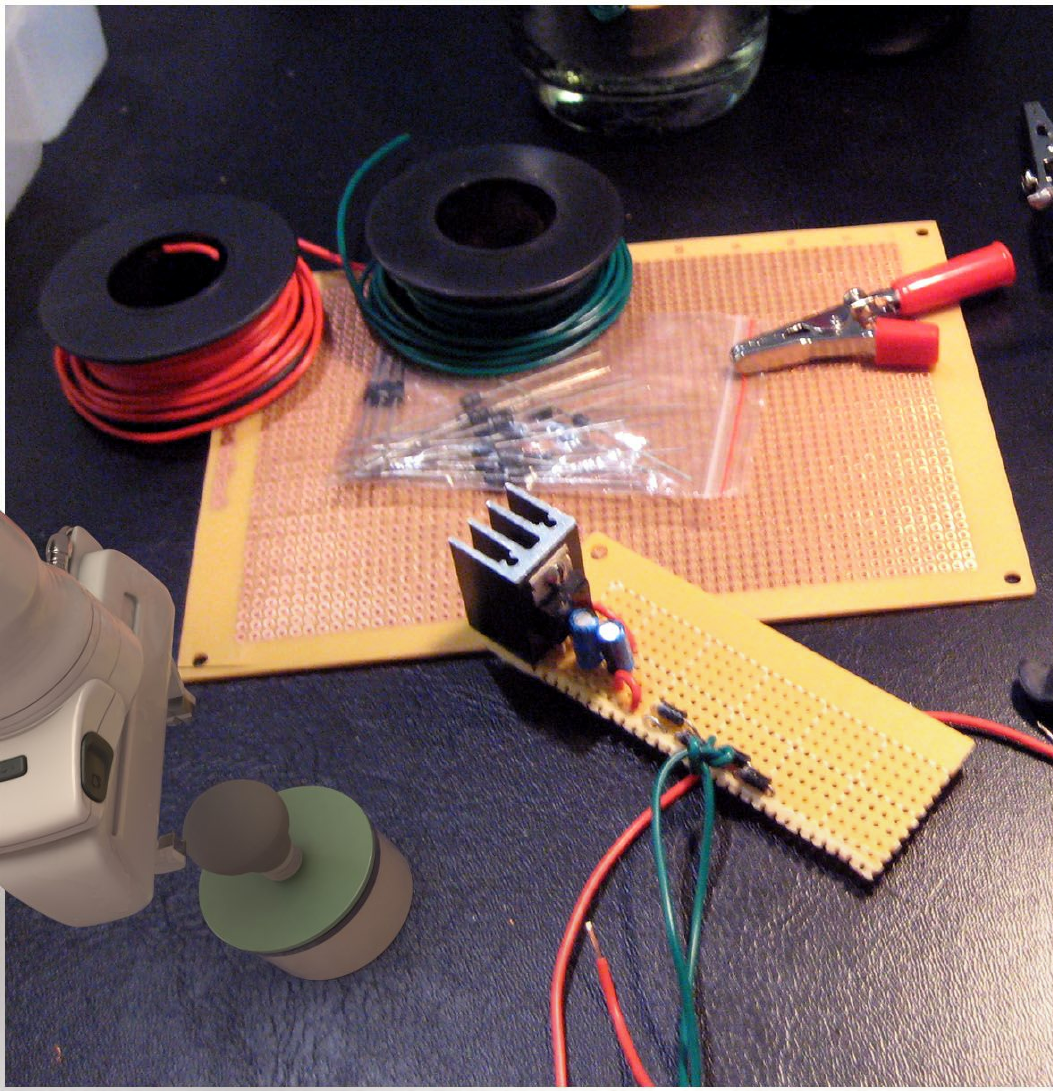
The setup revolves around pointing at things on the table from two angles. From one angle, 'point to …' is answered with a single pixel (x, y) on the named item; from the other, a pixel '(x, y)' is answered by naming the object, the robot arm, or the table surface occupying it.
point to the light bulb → (241, 831)
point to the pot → (317, 893)
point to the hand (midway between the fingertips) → (178, 784)
